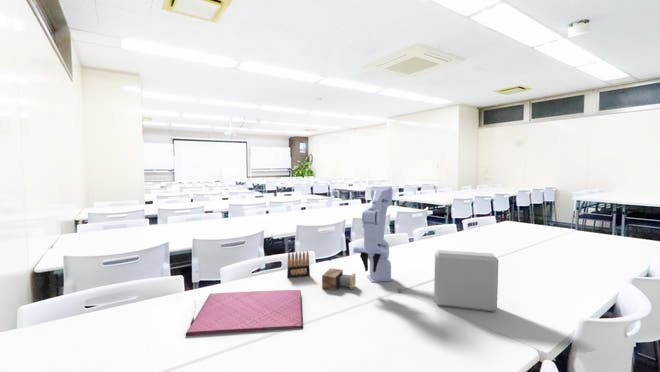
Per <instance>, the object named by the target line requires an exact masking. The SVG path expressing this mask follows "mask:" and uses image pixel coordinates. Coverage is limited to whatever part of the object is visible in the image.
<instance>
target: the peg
mask: <svg viewBox="0 0 660 372" xmlns="http://www.w3.org/2000/svg"><path fill="white" fill-rule="evenodd" d="M339 285H341V286H343V287H349V289H350V290H353V289H354V288H355V286H356V273H353V274H341V275H340V276H339ZM341 286H340V287H341Z"/></svg>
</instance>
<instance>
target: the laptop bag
mask: <svg viewBox="0 0 660 372" xmlns="http://www.w3.org/2000/svg"><path fill="white" fill-rule="evenodd" d="M204 301H205V302H204V303H203V305H202V307H201V308H200V310H199V311H198V313H197V314H196V316H195V315H193V317H192V319H191V322H190V323H189V325H190V326H189V328H188V329H187V331H186V333H185V337H188V336H196V335H197V336H199V335H209V334H221V333H233V332H244V331H245V332H246V331H247V332H249V331H261V330H262V331H263V330H279V329H291V328H294V329H295V328H302V329H304V321H303V304H302V302H303V301H302V292H301V290H300V289H284V290H283V289H282V290H261V291H260V290H259V291H256V290H255V291H238V292H237V291H235V292H233V291H231V292H216V293H215V292H213V293H209V295H208V297H207V298H206V300H204ZM194 302H195V304H196V301H194ZM194 309H196V306H194ZM195 313H196V311H194V312H193V314H195ZM194 316H195V318H194Z"/></svg>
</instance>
